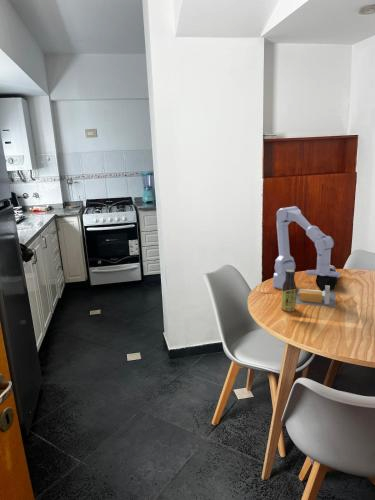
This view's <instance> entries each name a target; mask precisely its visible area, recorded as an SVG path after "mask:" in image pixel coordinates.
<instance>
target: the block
mask: <svg viewBox="0 0 375 500" xmlns="http://www.w3.org/2000/svg"><path fill="white" fill-rule="evenodd" d="M300 301H309V302H319V303H322V292H320V291H308V290H300Z"/></svg>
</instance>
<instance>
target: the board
mask: <svg viewBox="0 0 375 500" xmlns="http://www.w3.org/2000/svg"><path fill="white" fill-rule="evenodd" d="M300 290H308V291H320V292H322V303H319V302H309V301H300ZM324 301H325V290H324V291H321V289H309V288H307V289H306V288H297V290H296V305H304V306H306V305H308V306H318V307H328V308H336V305H337V304H336V291H334V290H333V291H332V290H330V295H329V305H325V304H324Z"/></svg>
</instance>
